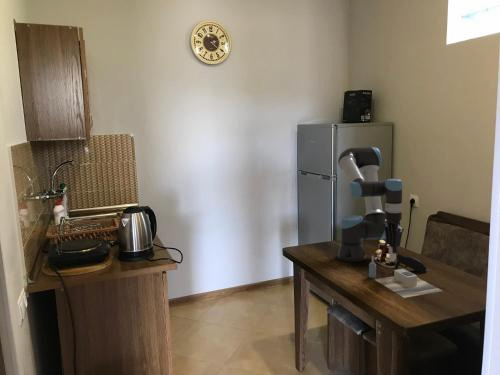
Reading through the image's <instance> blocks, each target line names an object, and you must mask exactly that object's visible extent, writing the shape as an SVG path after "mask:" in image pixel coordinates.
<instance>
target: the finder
mask: <svg viewBox="0 0 500 375" xmlns="http://www.w3.org/2000/svg"><path fill="white" fill-rule="evenodd" d="M393 273H394V274H393V276H394V278H395V279H396V280H398V281H400V282H402V283H404V284H405V285H407V286H410V285H416V284H417V278H418V275H416V274H415V273H412V272H411V271H408V270H406V268H400V269H399V268H398V269H397V270H395V269H394V271H393Z"/></svg>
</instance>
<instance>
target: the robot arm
mask: <svg viewBox="0 0 500 375" xmlns="http://www.w3.org/2000/svg"><path fill="white" fill-rule="evenodd" d="M382 162H383V161H382V154H381V151H380V149H379V148H378V147H374V146H366V147H363V146H362V147H349V148H346V149H345V150H343V151H342V152H341V153H340V155H339V157H338V160H337V163H338V166H339V168H340V169H341V170H342V171H343V173H344V175H345V176H346V179H347V180H348V182H349V185H348V193H349V196H350V197H352V198H364V202H365V203H364V204H365V212H366V213H365V214H364V217H363V216H362V215H360V214H359V215H357V214H353V215H347V216H344V217H343V218H341V220H340V245H339V248H338V252H337V258H338V259H339V260H340V261H343V262H348V263H360V262H363V261H365V260H366V252H365V249H364V245H363V240H384V239H385V242H386V244H388V248H389V249H388V251H389V260H391V261H393V260H397V258H396V256H397V254H398V252H397V248H398V247H401V242H402V236H403V232H404V230H405V229H404V227H401V223H400V222H401V220H402V219H403V216H402V215H403V213H402V210H403V189H404V188H403V187H404V186H403V181H402V179H398V178H388V179H383V180H379V175H378V171H379V169H380V167H381V166H382V164H383V163H382ZM381 197H384V198H385V201H384V202H385V205H384V206H385V207H384V208H385V211H383V205H382V200H381V199H382V198H381Z"/></svg>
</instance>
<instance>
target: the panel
mask: <svg viewBox="0 0 500 375" xmlns="http://www.w3.org/2000/svg"><path fill="white" fill-rule="evenodd" d="M373 279H374V280H375V281H376V282H377V283H379V284H380V285H382V286H384V287H386V288H388V289H389V290H390V291H392V292H393V293H395V294H397V295H398V296H400V297H402V298H403V299H404V298H410V297H411V298H412V297H416V296H422V295H428V294H432V293H434V294H435V293H439V292H443V289H440V288H438V287H437V286H434V285H433V284H430V283H428V282H427V281H425V280H423V279H421V278H419V277H417V284H416V285H410V286H407V285H405V284H404V283H402V282H400V281H398V280H396V279H395V278H394V275H393V276H388V277H387V276H386V277H380V278H373Z"/></svg>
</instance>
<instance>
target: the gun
mask: <svg viewBox="0 0 500 375" xmlns="http://www.w3.org/2000/svg"><path fill="white" fill-rule="evenodd" d="M399 267H401V268H402V269H406V268H410V269H412V270H414V271H416V272H417V273H425V272H429V269H428V268H427V266H425V264H424V263H423V262H422V261H421V260H419V259H417V258H415V257H412V256H410V255H404V254H402V253H397V254H396V262H395V265H394V270H398V269H399Z"/></svg>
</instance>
